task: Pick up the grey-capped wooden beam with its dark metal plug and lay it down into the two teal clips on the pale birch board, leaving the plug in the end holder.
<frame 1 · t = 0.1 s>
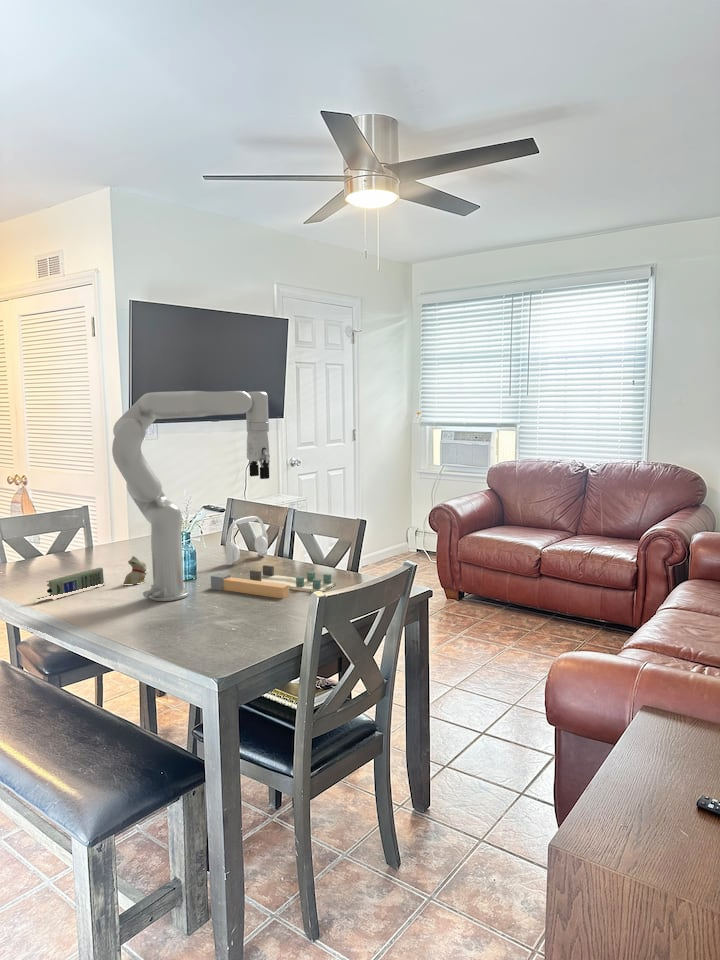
hand: (259, 477, 228), 37 cm above the table, tool pointing down, fingers open, 9 cm apart
clip holder: (297, 585, 228), on the table
headset: (247, 561, 264), on the table
chocolate bunny: (135, 583, 233), on the table
grey-capped wooden beam: (255, 592, 220), on the table
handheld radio: (70, 595, 221), on the table
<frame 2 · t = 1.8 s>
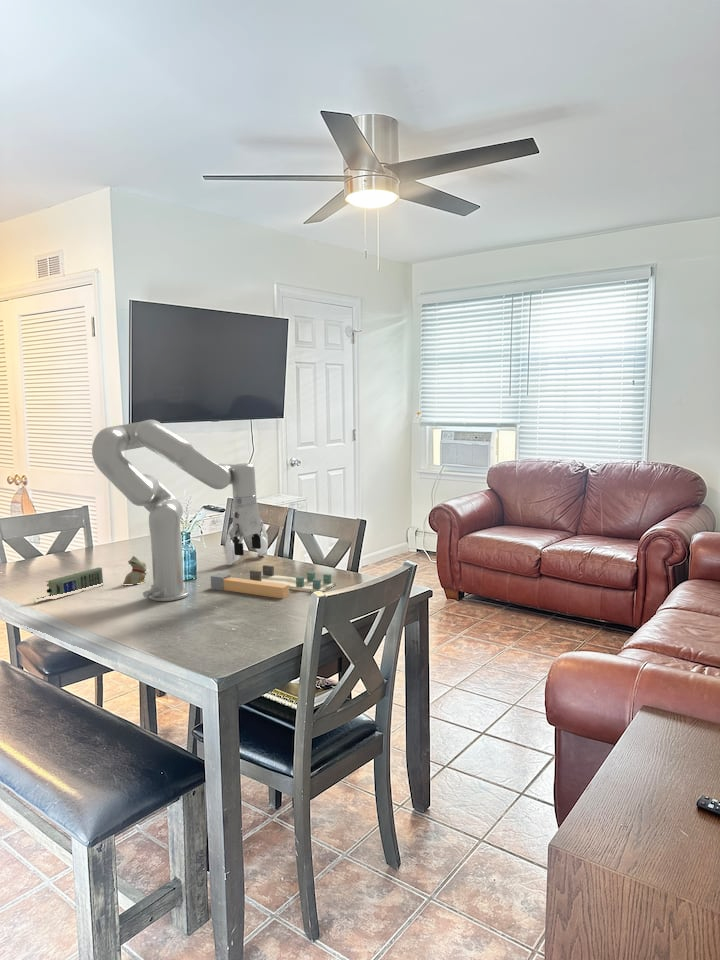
hand: (248, 551, 220), 14 cm above the table, tool pointing down, fingers open, 9 cm apart
nothing on the table moved.
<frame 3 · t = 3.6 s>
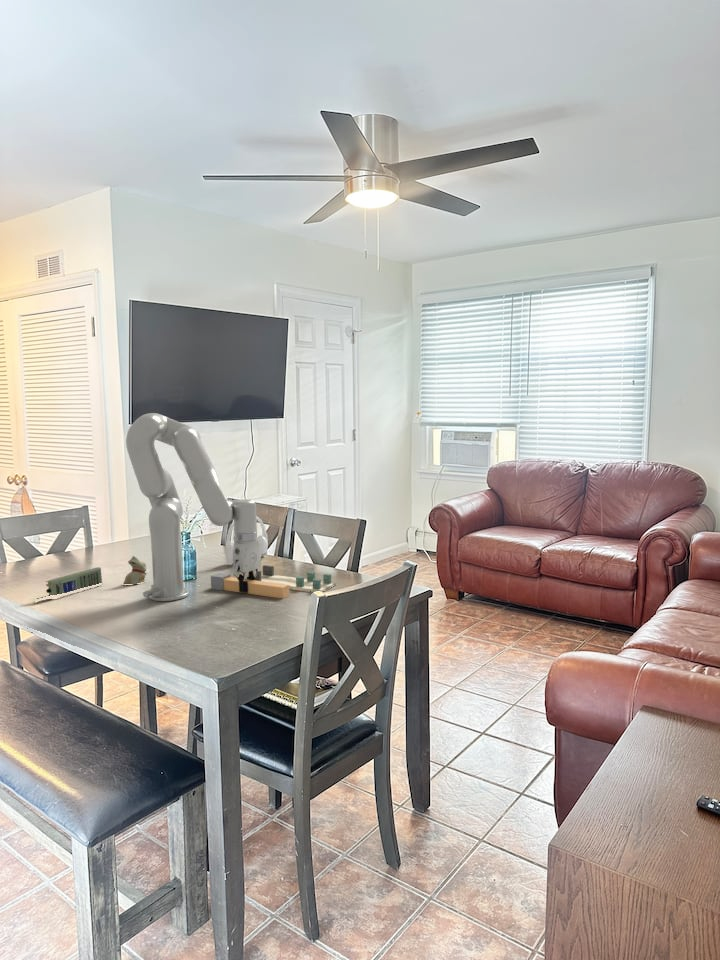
hand: (247, 589, 221), 0 cm above the table, tool pointing down, fingers closed on grey-capped wooden beam, 3 cm apart
grey-capped wooden beam: (256, 592, 220), on the table, touching gripper
everything else where it was.
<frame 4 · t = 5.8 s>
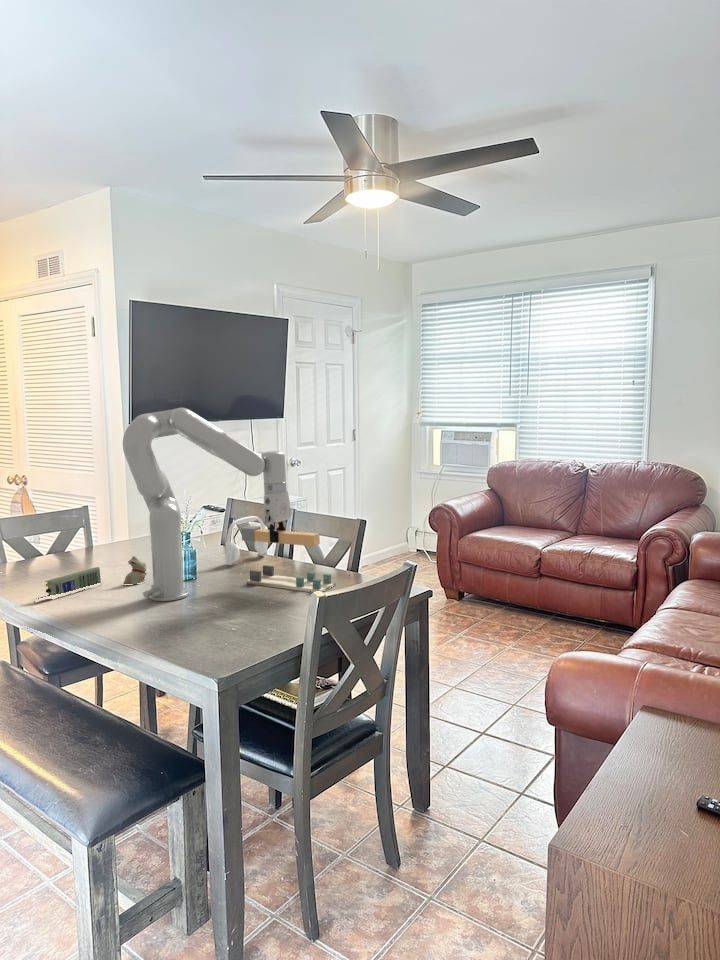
hand: (278, 540, 225), 16 cm above the table, tool pointing down, fingers closed on grey-capped wooden beam, 3 cm apart
grey-capped wooden beam: (286, 542, 224), point 16 cm above the table, touching gripper
everything else where it was.
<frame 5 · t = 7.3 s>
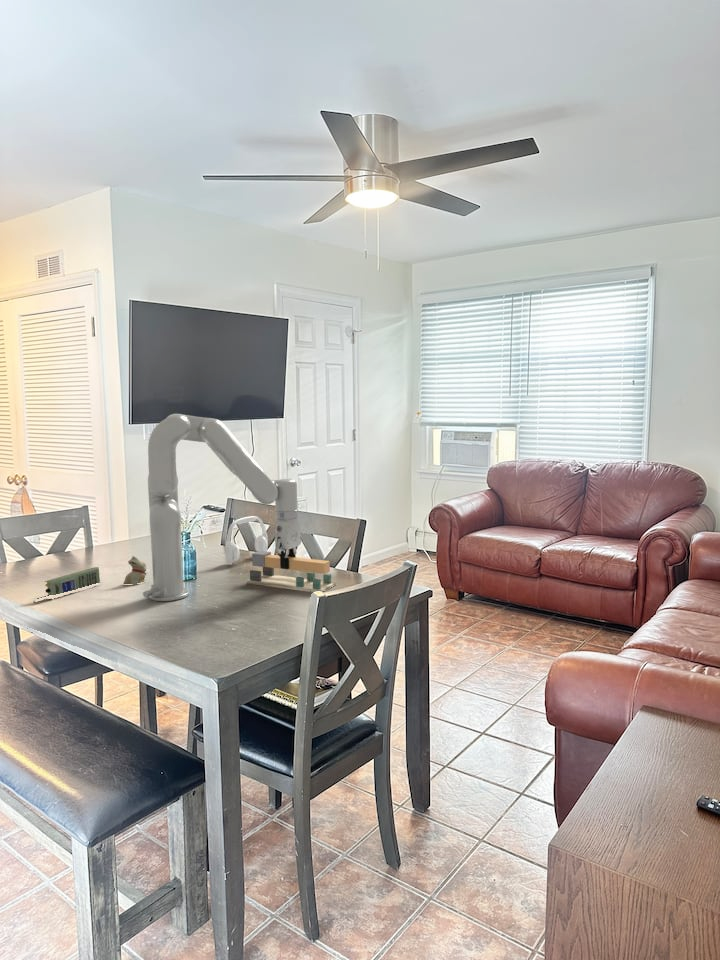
hand: (288, 566, 229), 6 cm above the table, tool pointing down, fingers closed on grey-capped wooden beam, 3 cm apart
grey-capped wooden beam: (296, 569, 227), point 6 cm above the table, touching gripper
when the fingers open (3 cm above the table, at t = 8.3 s): grey-capped wooden beam drops 1 cm, resting on clip holder.
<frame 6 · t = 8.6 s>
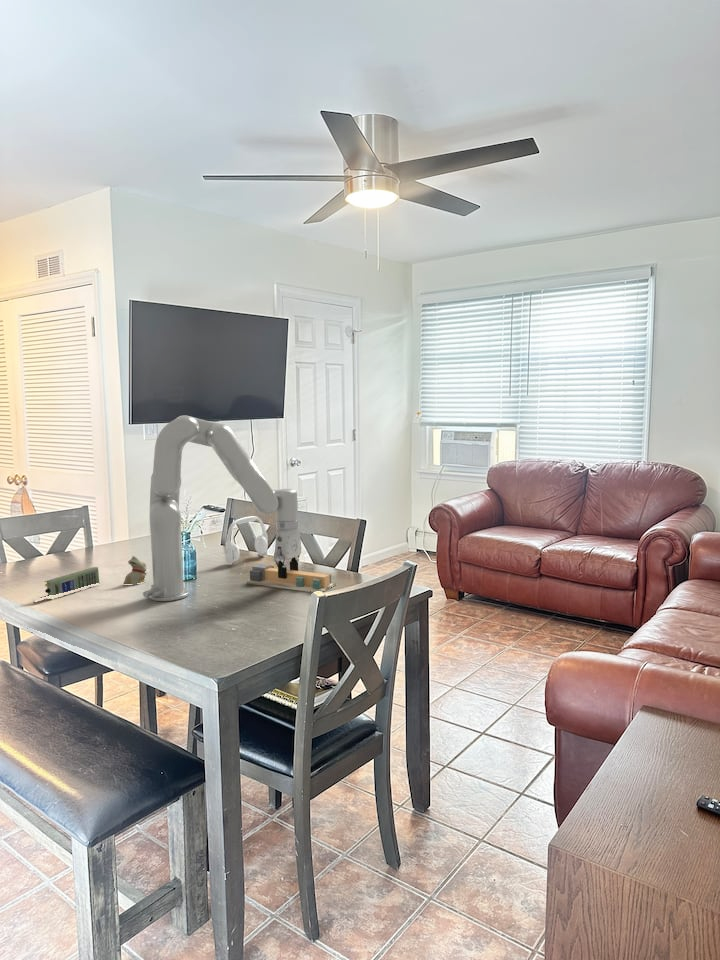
hand: (288, 575, 229), 3 cm above the table, tool pointing down, fingers open, 6 cm apart
grey-capped wooden beam: (296, 582, 228), point 1 cm above the table, touching clip holder
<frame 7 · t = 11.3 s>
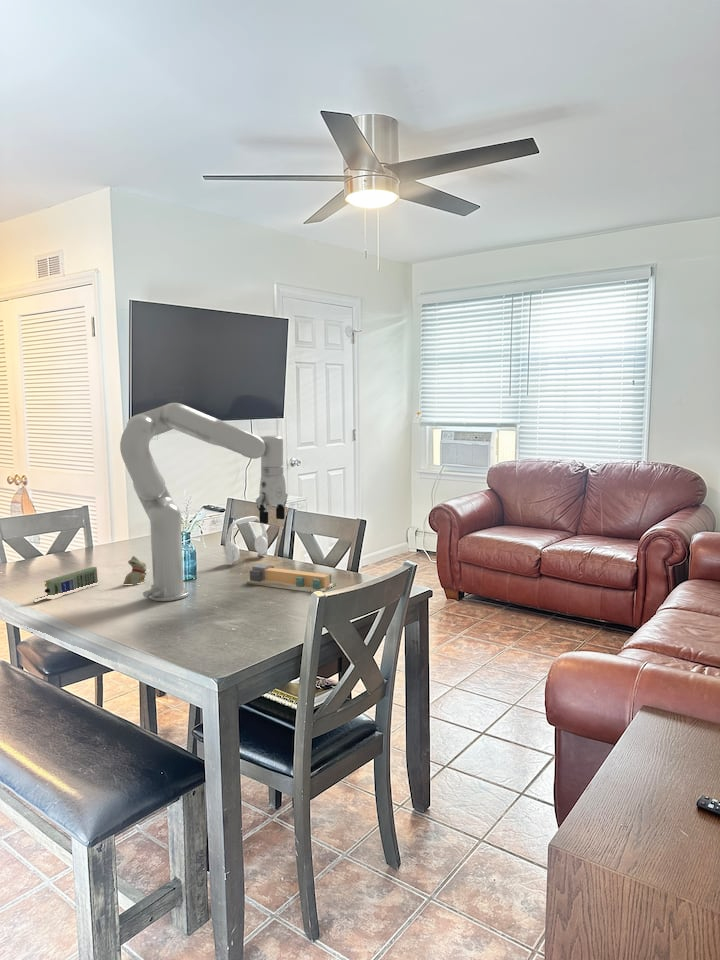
hand: (272, 521, 228), 22 cm above the table, tool pointing down, fingers open, 9 cm apart
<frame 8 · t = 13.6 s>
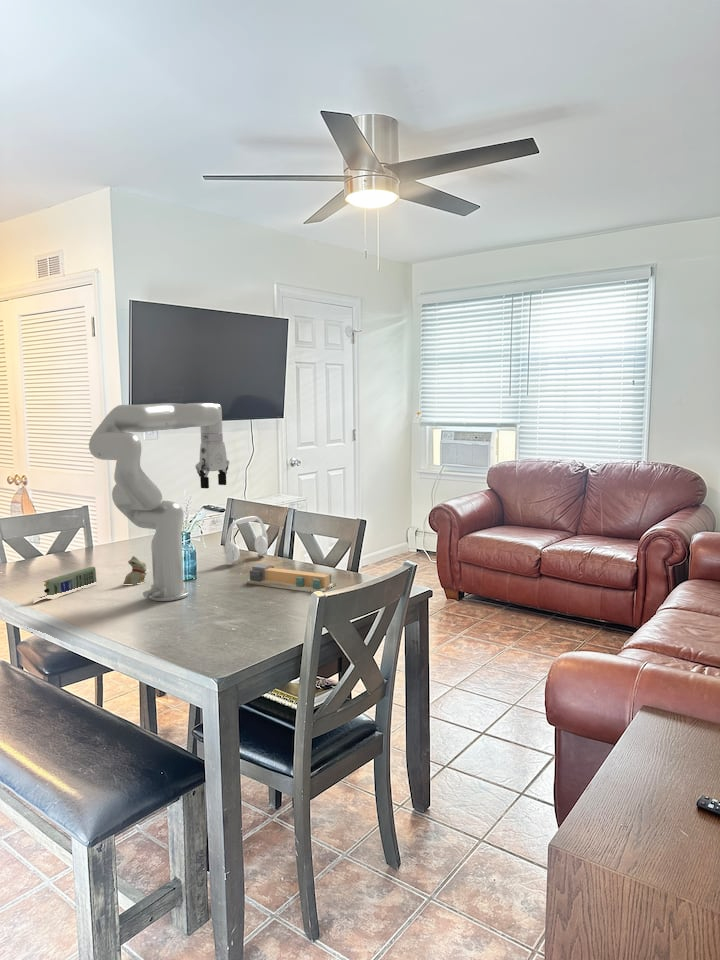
hand: (213, 486, 235), 33 cm above the table, tool pointing down, fingers open, 9 cm apart
at the end: grey-capped wooden beam 0.1 cm off-centre on the clip holder, point 1.0 cm above the clip holder's base; grey-capped wooden beam tilted 0°; the gripper is holding nothing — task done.
